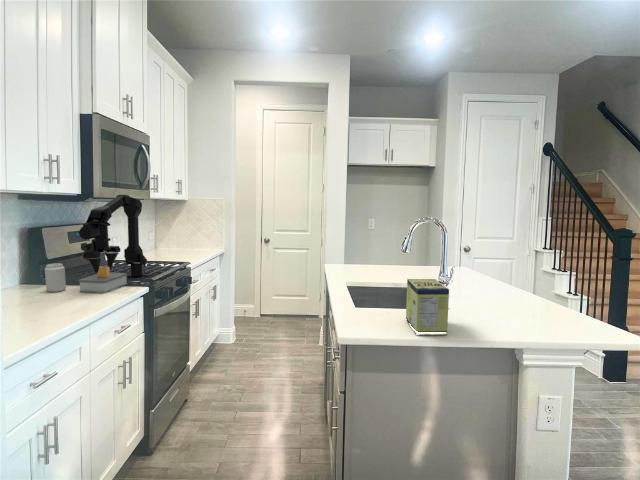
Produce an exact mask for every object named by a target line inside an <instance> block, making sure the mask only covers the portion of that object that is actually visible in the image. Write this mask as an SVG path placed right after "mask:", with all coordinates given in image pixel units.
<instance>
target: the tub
mask: <svg viewBox="0 0 640 480" xmlns="http://www.w3.org/2000/svg"><path fill="white" fill-rule="evenodd" d="M127 284H128V283H127V276H124V277H121V278H118V279H116V280H113V281H110V282H107V283H85V282H79V292H80V293H93V294H94V293H95V294H107V293H109V292H111V291H114V290H117V289H119V288H123V287H124V286H127Z"/></svg>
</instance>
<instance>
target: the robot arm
mask: <svg viewBox="0 0 640 480" xmlns="http://www.w3.org/2000/svg"><path fill="white" fill-rule="evenodd" d="M121 207H122V208H123V212H124V214H125V215H126V218H127V239H128V240H127V242H128V245H127V247H126V248H124V249H123V253H124V255H123V257H124V260H125V262H126V265H128V266H129V265H130V267H129V269H130V275H128V276H130V277H129V278H142V277H143V276H146V275H147V273H144V266H145V265H147V263H148V259H147V258H146V256H145V255H144V251H143V248H142V247H141V246H140V242H139V241H140V239H139V237H140V234H139V231H140V230H139V229H140V227H139V216H140V215H141V213H142V208H143V203H142V201H141V200H140V199H139V198H138V199H137V198H135V197H132V196H130V195H127V194H118V195H116V197H113V199H111V200H109V201H108V202H107V203H106V204H104V205H102V206H98V207H95V208H92V209H90V213H89V214H88V217H87V219H86V222H85V223H83V224H82V227H80V229H79V232H78V234H79V236H80V238H81V239H83V240H85V241H86V240H91V242H90V243H88V242H82V243H80V250H81V251H84V252H83V253H82V259H84V260H86V261H88V262H89V263H90V264H91V266H92V269H93V271H94V272H95V274H97V273H98V270H99V266H101V258H102V257H101V255H103V254H104V255H105V257H106V261H107V267H109V268H110V270H111V269H112V267H113V266H114V263H115V260H116V259H117V257H118V256H119V254H120V252H121V247H120V246H119V245H109V243H110V241H111V238H110V237H109V226H111V223H109V221H110V219H111V218H112V217H113V215H112V214H114V213H115V211H116V212H117V210H118V209H120V208H121ZM141 276H142V277H141Z"/></svg>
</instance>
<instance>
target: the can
mask: <svg viewBox="0 0 640 480" xmlns="http://www.w3.org/2000/svg"><path fill="white" fill-rule="evenodd" d="M65 270H66V269H65V266H64V265H63V263H60V262H59V263H49V264H46V266H45V268H44V274H45V275H44V276H45V290H46V291H47V292H48V293H59V292H60V293H61V292H64V291H65V290H66V288H67V284H66V283H67V281H66V272H65Z"/></svg>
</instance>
